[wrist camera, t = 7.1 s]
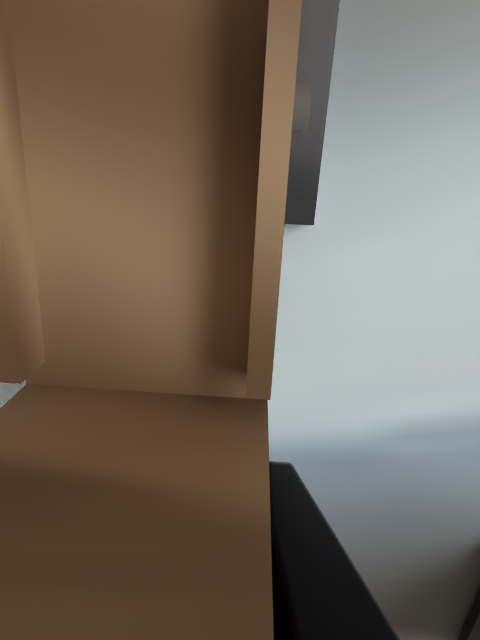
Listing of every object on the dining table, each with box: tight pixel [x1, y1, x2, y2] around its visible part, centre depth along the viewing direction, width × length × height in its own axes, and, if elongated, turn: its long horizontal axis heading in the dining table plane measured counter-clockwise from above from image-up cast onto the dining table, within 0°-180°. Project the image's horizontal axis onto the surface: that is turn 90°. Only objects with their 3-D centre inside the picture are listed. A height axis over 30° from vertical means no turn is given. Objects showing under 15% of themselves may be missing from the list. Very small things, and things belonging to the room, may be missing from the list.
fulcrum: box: [284, 0, 340, 225], centre depth 9 cm, size 5×6×2 cm
